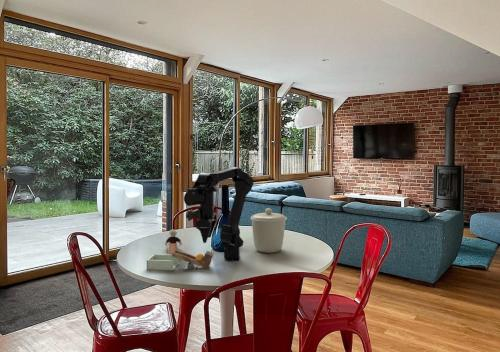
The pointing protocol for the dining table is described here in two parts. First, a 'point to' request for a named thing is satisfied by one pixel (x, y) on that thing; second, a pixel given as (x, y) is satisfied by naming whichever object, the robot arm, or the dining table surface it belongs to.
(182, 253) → the brown wooden ramp
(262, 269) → the dining table surface
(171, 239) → the grandmother figurine
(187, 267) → the fulcrum
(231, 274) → the dining table surface
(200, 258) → the ball
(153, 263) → the tray
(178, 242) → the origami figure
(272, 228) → the canister
